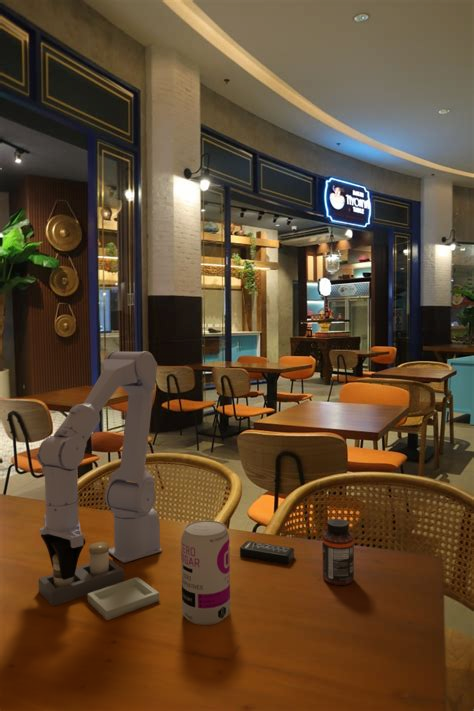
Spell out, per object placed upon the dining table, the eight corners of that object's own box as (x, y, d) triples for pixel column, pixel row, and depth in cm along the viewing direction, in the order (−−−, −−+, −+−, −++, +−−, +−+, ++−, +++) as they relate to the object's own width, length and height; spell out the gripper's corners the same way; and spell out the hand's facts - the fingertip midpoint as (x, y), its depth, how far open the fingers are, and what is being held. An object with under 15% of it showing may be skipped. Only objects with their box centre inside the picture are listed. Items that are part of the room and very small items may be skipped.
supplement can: (236, 605, 94) (235, 521, 93) (220, 630, 86) (218, 539, 85) (194, 598, 96) (193, 517, 96) (174, 622, 89) (172, 533, 88)
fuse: (104, 575, 106) (103, 540, 106) (113, 582, 103) (112, 546, 103) (86, 580, 104) (85, 545, 104) (94, 588, 101) (93, 551, 101)
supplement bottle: (323, 571, 107) (323, 515, 106) (353, 573, 106) (353, 517, 105) (321, 585, 101) (321, 526, 101) (353, 587, 100) (353, 528, 99)
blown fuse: (70, 585, 102) (69, 549, 102) (78, 593, 99) (77, 556, 99) (50, 592, 100) (49, 555, 99) (57, 599, 97) (56, 561, 96)
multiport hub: (288, 566, 110) (288, 556, 110) (239, 558, 114) (239, 547, 114) (294, 558, 114) (294, 547, 114) (247, 550, 118) (246, 540, 118)
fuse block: (108, 569, 108) (108, 557, 108) (124, 582, 103) (124, 569, 103) (38, 591, 100) (38, 578, 100) (52, 606, 94) (51, 592, 94)
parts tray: (137, 584, 102) (137, 577, 102) (159, 600, 96) (158, 592, 96) (87, 601, 96) (87, 593, 96) (107, 620, 90) (107, 611, 89)
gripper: (27, 496, 102) (29, 566, 102) (54, 516, 90) (56, 595, 91) (63, 489, 106) (65, 556, 107) (94, 507, 95) (95, 582, 95)
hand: (63, 573), depth 99 cm, fingers closed on blown fuse, 4 cm apart
